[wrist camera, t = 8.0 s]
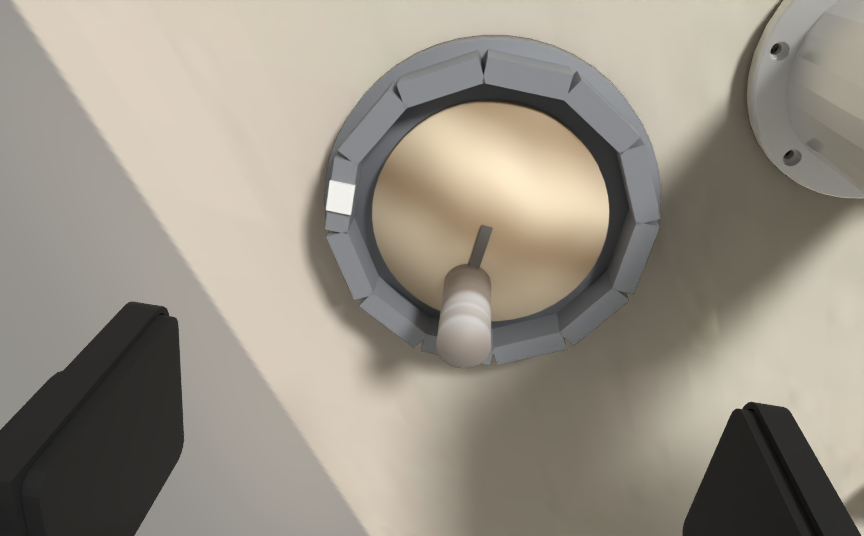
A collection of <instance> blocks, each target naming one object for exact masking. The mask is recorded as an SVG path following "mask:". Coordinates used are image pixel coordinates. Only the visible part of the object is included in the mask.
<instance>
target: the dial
mask: <svg viewBox="0 0 864 536" xmlns="http://www.w3.org/2000/svg"><path fill="white" fill-rule="evenodd" d="M372 221H373V230H374V235H375V239H376V242H377V246H378V248H379V251H380V253H381V256H382V258H383V260H384V261H385V263H386V265H387V267H388V268H389V270H390V271H391V273H392V274H393V275H394V277H395V278H396V279H397V280H398V282H399V283H400V284H401V285H402V286H403V287H404V288H405V289H406V290H407V291H409V292H410V293H411V294H412V295H414V296H415V297H416V298H417V299H419V300H420V301H422V302H424V303H425V304H427V305H428V306H430V307H432V308H434V309H436V310H439V311H440V319H439V327H438V334H437V342H436V347H437V351H438V354H439V355H440V357H441V358H442V359H443V360H444V361H445V362H446V363H448V364H450V365H452V366H455V367H458V368H471V367H474V366H477V365H479V364H481V363H482V362H483V361H485V359H486V358H487V357H488V355H489V353H490V350H491V321H505V320H512V319H517V318H521V317H525V316H529V315H531V314H534V313H537V312H540V311H542V310H544V309H546V308H548V307H550V306H552V305H554V304H555V303H557V302H558V301H560V300H561V299H563V298H564V297H566V296H567V295H568V294H569V293H570V292H572V291H573V290H574V289H575V288H576V287H577V286H578V285H579V284H580V283H581V282H582V281H583V280H584V279H585V277H586V276H587V275H588V273H589V272H590V271H591V269H592V268H593V266H594V265H595V263H596V261H597V259H598V257H599V255H600V253H601V251H602V248H603V245H604V242H605V239H606V235H607V230H608V224H609V202H608V194H607V190H606V186H605V181H604V179H603V177H602V174H601V172H600V169H599V167H598V164H597V162H596V160H595V158H594V156H593V155H592V153H591V151H590V150H589V148H588V147H587V145H586V144H585V143H584V142H583V140H582V139H581V138H580V137H579V136H578V135H577V134H576V133H575V132H574V131H573V130H572V129H571V128H570V127H569V126H568V125H566V124H565V123H564V122H562V121H561V120H559V119H558V118H557V117H555V116H553V115H551V114H550V113H548V112H546V111H544V110H542V109H540V108H537V107H534V106H531V105H528V104H526V103H521V102H516V101H512V100H503V99H477V100H472V101H466V102H461V103H458V104H455V105H451V106H448V107H445V108H443V109H441V110H439V111H437V112H435V113H433V114H431V115H429V116H428V117H426V118H425V119H423V120H421V121H420V122H418V123H417V124H416V125H415V126H414V127H412V128H411V129H410V130H409V131H408V132H407V133H406V134H405V135H404V136H403V137H402V138H401V139H400V140H399V142H398V143H397V144H396V145H395V147H394V148H393V150H392V151H391V153H390V154H389V156H388V158H387V160H386V162H385V164H384V166H383V168H382V170H381V173H380V175H379V178H378V181H377V184H376V187H375V192H374V197H373V203H372Z"/></svg>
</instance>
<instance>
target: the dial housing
mask: <svg viewBox="0 0 864 536" xmlns="http://www.w3.org/2000/svg"><path fill="white" fill-rule="evenodd" d="M477 99H503V100H512V101H516V102H521V103H526V104H528V105H531V106H534V107H537V108H540V109H542V110H544V111H546V112H548V113H550V114H551V115H553V116H555V117H557V118H558V119H559V120H561V121H562V122H564V123H565V124H566V125H568V126H569V127H570V128H571V129H572V130H573V131H574V132H575V133H576V134H577V135H578V136H579V137H580V138H581V139H582V140H583V142H584V143H585V144H586V145H587V147H588V148H589V150H590V151H591V153H592V155H593V156H594V158H595V160H596V162H597V164H598V167H599V169H600V172H601V174H602V177H603V179H604V181H605V186H606V190H607V194H608V202H609V224H608V230H607V235H606V239H605V242H604V245H603V248H602V251H601V253H600V255H599V257H598V259H597V261H596V263H595V265H594V266H593V268H592V269H591V271H590V272H589V273H588V275H587V276H586V277H585V279H584V280H583V281H582V282H581V283H580V284H579V285H578V286H577V287H576V288H575V289H574V290H573V291H572V292H570V293H569V294H568V295H567V296H566V297H564V298H563V299H561V300H560V301H558V302H557V303H555V304H554V305H552V306H550V307H548V308H546V309H544V310H542V311H540V312H537V313H534V314H531V315H529V316H525V317H521V318H517V319H512V320H505V321H491V350H490V353H489V355H488V357H487V358H486V359H485V361H483V362H482V363H481V364H485V365H490V362H491V358H492V355H493V354H494V357H495V360H496V362H497V365H501V364H505V363H509V362H514V361H518V360H522V359H527V358H531V357H535V356H540V355H544V354H548V353H553V352H557V351H561V350H565V349H566V343H565V339H566V340H568V341H569V342H570V343H571V344H572V345H575V344H577V343H578V342H579V341H580V340H581V339H583V338H584V337H585V336H586V335H588V334H589V333H590V332H591V331H593V330H594V329H595V328H596V327H597V326H599V325H600V324H601V323H602V322H604V321H605V320H606V319H607V318H608V317H610V316H611V315H612V314H613V313H615V312H616V311H617V310H618V309H619V308H621V307H622V306H623V305H624V304H626V303H627V302H628V301H629V299H628V296H627V294H626V293H631V294H634V293H635V290H636V287H637V285H638V282H639V280H640V277H641V274H642V272H643V269H644V267H645V264H646V262H647V259H648V256H649V254H650V251H651V249H652V246H653V244H654V241H655V238H656V236H657V233H658V231H659V228H660V226H659V224H658V219H661V218H660V213H659V212H660V191H661V186H660V178H659V170H658V164H657V161H656V157H655V154H654V150H653V147H652V144H651V141H650V139H649V137H648V135H647V133H646V130H645V128H644V126H643V124H642V122H641V121H640V119H639V118H638V116H637V115H636V113H635V112H634V110H633V109H632V107H631V105H630V104H629V103H628V101H627V100H626V98H625V97H624V96H623V95H622V94H621V93H620V91H619V90H618V89H617V88H616V87H615V86H614V85H613V83H612V82H611V81H610V80H608V79H607V78H606V77H605V76H604V75H603V74H601V73H600V72H599V71H598V70H597V69H596V68H594V67H593V66H591V65H590V64H588V63H587V62H585V61H583V60H582V59H580V58H579V57H577V56H576V55H574V54H572V53H569V52H567V51H565V50H563V49H560V48H558V47H556V46H554V45H551V44H547V43H544V42H540V41H537V40H533V39H530V38H523V37H516V36H509V35H480V36H472V37H464V38H458V39H455V40H451V41H447V42H443V43H440V44H437V45H434V46H432V47H429V48H427V49H425V50H422V51H420V52H418V53H415V54H414V55H412V56H410V57H409V58H407V59H405V60H404V61H402V62H400V63H399V64H397V65H396V66H394V67H393V68H392V69H391V70H389V71H388V72H387V73H385V74H384V75H383V76H382V77H380V78H379V79H378V80H377V81H376V82H375V83H374V84H373V86H372V87H371V88H370V89H369V90H368V91H367V92H366V93H365V94H364V95H363V97H362V98H361V99H360V101H359V102H358V104H357V105H356V106H355V108H354V109H353V111H352V112H351V113H350V115H349V116H348V118H347V119H346V121H345V123H344V125H343V127H342V129H341V131H340V133H339V134H338V136H337V138H336V141H335V144H334V147H333V150H332V152H331V155H330V158H329V163H328V168H327V173H326V178H325V194H324V202H325V214H326V225H325V230H329V233H328V235H327V237H326V238H327V240H328V243H329V245H330V247H331V249H332V252H333V254H334V256H335V258H336V261H337V263H338V265H339V267H340V270H341V272H342V274H343V276H344V278H345V281H346V283H347V285H348V287H349V290H350V292H351V294H352V296H353V299H354V300H357V299H360V298H362V299H361V302H360V305H359V307H361V308H362V309H363V310H365V311H366V312H367V313H369V314H370V315H371V316H373V317H374V318H375V319H377V320H378V321H379V322H380V323H382V324H383V325H384V326H386V327H387V328H388V329H390V330H391V331H392V332H394V333H395V334H396V335H397V336H399V337H400V338H401V339H403V340H404V341H405V342H407V343H408V344H409V345H411V346H412V347H413V348H414V347H415V346H416V345H418V344H419V343H420V342H421V341H422V340H423V342H422V348H421V351H422V352H427V353H432V354H437V355H439V354H438V351H437V347H436V342H437V334H438V327H439V319H440V311H439V310H436V309H434V308H432V307H430V306H428V305H427V304H425V303H424V302H422V301H420V300H419V299H417V298H416V297H415V296H414V295H412V294H411V293H410V292H409V291H407V290H406V289H405V288H404V287H403V286H402V285H401V284H400V283H399V282H398V280H397V279H396V278H395V277H394V275H393V274H392V273H391V271H390V270H389V268H388V267H387V265H386V263H385V261H384V260H383V258H382V256H381V253H380V251H379V248H378V246H377V242H376V239H375V235H374V230H373V221H372V203H373V197H374V192H375V187H376V184H377V181H378V178H379V175H380V173H381V170H382V168H383V166H384V164H385V162H386V160H387V158H388V156H389V154H390V153H391V151H392V150H393V148H394V147H395V145H396V144H397V143H398V142H399V140H400V139H401V138H402V137H403V136H404V135H405V134H406V133H407V132H408V131H409V130H410V129H411V128H412V127H414V126H415V125H416V124H417V123H418V122H420V121H421V120H423V119H425V118H426V117H428V116H429V115H431V114H433V113H435V112H437V111H439V110H441V109H443V108H445V107H448V106H451V105H455V104H458V103H461V102H466V101H472V100H477Z"/></svg>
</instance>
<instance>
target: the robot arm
mask: <svg viewBox="0 0 864 536" xmlns="http://www.w3.org/2000/svg"><path fill="white" fill-rule="evenodd" d="M776 43H777V44H778V49H777V51H776V52H774V53H770V51H771V48H772V47H773V45H774V44H776ZM747 106H748V113H749V120H750V124H751V127H752V129H753V132H754V134H755V137H756V140H757V142H758V144H759V145H760V147H761V148H762V150H763V151H764V153H765V154H766V156H767V157H768V159H769V160H770V161H771V162H772V163H773V164H774V165H775V166H776V167H777V168H778V169H779V170H780V171H781V172H783V173H784V174H785V175H787V176H788V177H790V178H791V179H792V180H794V181H795V182H796V183H798V184H799V185H801V186H804V187H806V188H808V189H811V190H813V191H815V192H818V193H821V194H825V195H830V196H835V197H839V198H860V199H864V0H783V1H782V3H781V4H780V6H779V7H778V9H777V10H776V12H775V13H774V15H773V16H772V18H771V19H770V21H769V22H768V24H767V25H766V27H765V29H764V31H763V34H762V36H761V38H760V40H759V42H758V45H757V47H756V49H755V51H754V55H753V59H752V63H751V67H750V71H749V75H748V86H747ZM788 151H790V154H789V155H788V156H786V157H784V155H785V154H786V152H788ZM179 350H180V349H179V329H178V321H177V319H176V318H175V317H170V316H169V313H168V310H167V308H165V307H163V306H157V305H151V304H144V303H138V302H129V303H127V304H126V305H125V306H124V307H123V308H122V309H121V310H120V311H119V312H118V313H117V314H116V315H115V316H114V318H113V319H112V320H111V321H110V322H109V323H108V324H107V325H106V326H105V327H104V328H103V329H102V330H101V331H100V332H99V333H98V334H97V335H96V337H95V338H94V339H93V340H92V341H91V342H90V343H89V344H88V345H87V346H86V347H85V348H84V349H83V350H82V351H81V352H80V353H79V355H78V356H77V357H76V358H75V359H74V360H73V361H72V362H71V363H70V364H69V365H68V366H67V367H66V368H65V369H64V370H63V371H61V372H57V373H56V374H55V375H54V376H52V377H51V378H50V379H49V380H48V381H47V382H46V383H45V384H44V385H43V386H42V387H41V388H40V389H39V390H38V391H37V392H36V393H35V394H34V395H33V397H32V398H31V399H30V400H29V401H28V402H27V403H26V404H25V405H24V406H23V407H22V408H21V409H20V410H19V411H18V412H17V413H16V414H15V415H14V416H13V417H12V419H11V420H10V421H9V422H8V423H7V424H6V425H5V426H4V427H3V428H2V429H1V430H0V536H134V535H135V533H136V531H137V530H138V528H139V527H140V524H141V523H142V522H143V520H144V518H145V516H146V515H147V513H148V511H149V510H150V508H151V506H152V504H153V503H154V501H155V499H156V497H157V496H158V494H159V492H160V491H161V489H162V487H163V486H164V484H165V482H166V480H167V479H168V477H169V475H170V473H171V471H172V470H173V468H174V467H175V465H176V463H177V461H178V460H179V457H180V455H181V452H182V448H183V442H184V431H183V409H182V390H181V370H180V351H179ZM683 536H861V534H860V533H859V531H858V529H857V527H856V526H855V524H854V522H853V520H852V519H851V517H850V515H849V513H848V512H847V510H846V508H845V506H844V505H843V503H842V501H841V499H840V498H839V496H838V494H837V492H836V491H835V489H834V487H833V485H832V484H831V482H830V480H829V478H828V477H827V475H826V473H825V471H824V470H823V468H822V466H821V464H820V463H819V461H818V459H817V457H816V456H815V454H814V452H813V450H812V449H811V447H810V445H809V443H808V442H807V440H806V438H805V436H804V435H803V433H802V431H801V429H800V428H799V426H798V424H797V423H796V421H795V419H794V417H793V416H792V414H791V412H790V411H789V410H788V409H787V408H784V407H780V406H773V405H767V404H761V403H755V402H749V403H747V404H746V405H745V406H744V407H743V409H735V410H734V411H733V412H732V414H731V415H730V418H729V420H728V422H727V425H726V427H725V429H724V432H723V434H722V436H721V438H720V441H719V443H718V445H717V448H716V450H715V452H714V455H713V457H712V459H711V461H710V464H709V466H708V468H707V471H706V473H705V475H704V478H703V480H702V482H701V484H700V487H699V489H698V491H697V494H696V496H695V498H694V500H693V503H692V505H691V507H690V510H689V512H688V514H687V517H686V519H685V522H684V525H683Z"/></svg>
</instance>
